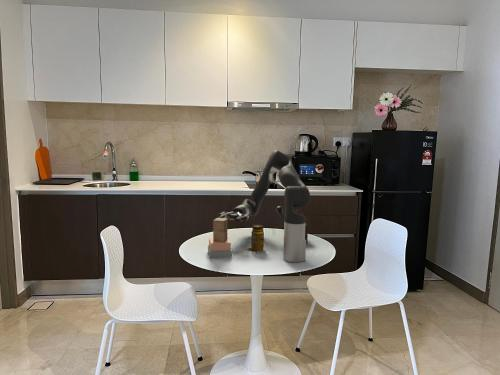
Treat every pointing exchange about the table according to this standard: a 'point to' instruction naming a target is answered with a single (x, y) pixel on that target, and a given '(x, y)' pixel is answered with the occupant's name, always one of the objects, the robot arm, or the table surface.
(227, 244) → the tower top
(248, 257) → the table surface
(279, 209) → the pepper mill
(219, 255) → the tower bottom
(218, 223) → the tall block
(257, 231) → the condiment
